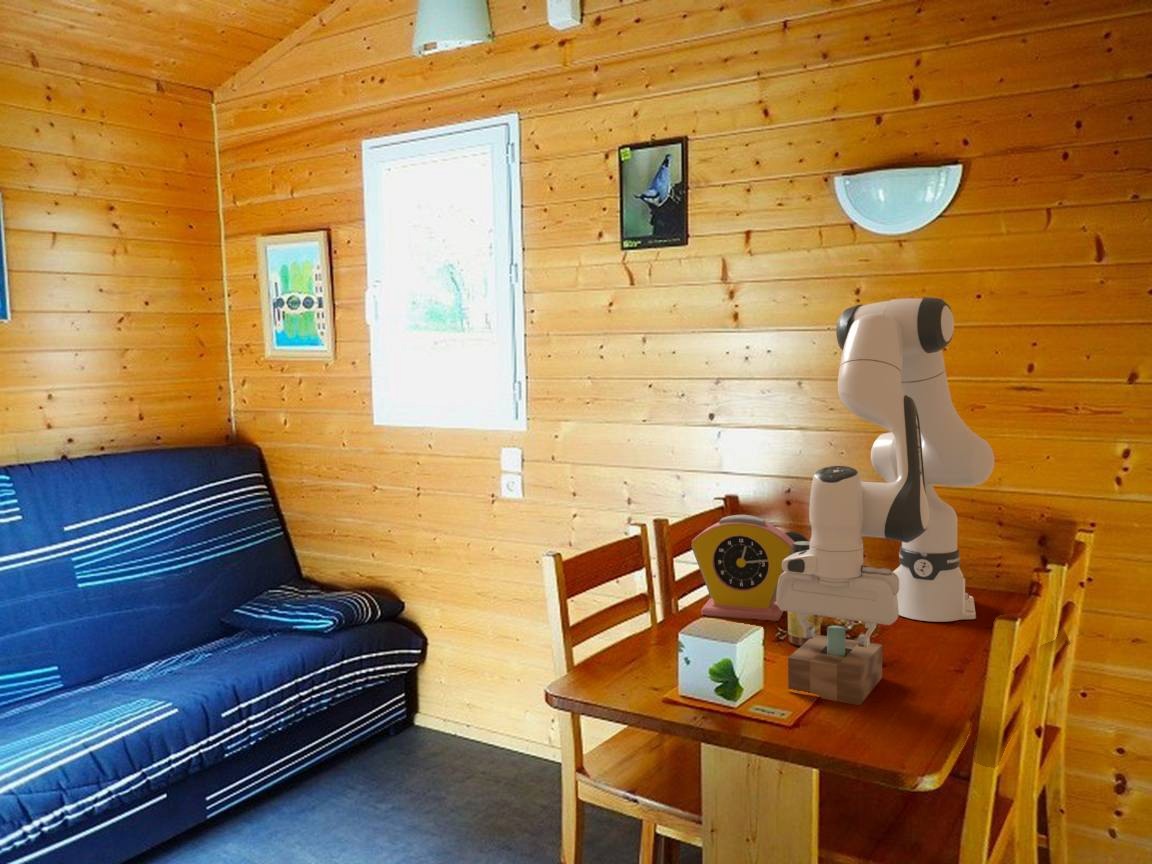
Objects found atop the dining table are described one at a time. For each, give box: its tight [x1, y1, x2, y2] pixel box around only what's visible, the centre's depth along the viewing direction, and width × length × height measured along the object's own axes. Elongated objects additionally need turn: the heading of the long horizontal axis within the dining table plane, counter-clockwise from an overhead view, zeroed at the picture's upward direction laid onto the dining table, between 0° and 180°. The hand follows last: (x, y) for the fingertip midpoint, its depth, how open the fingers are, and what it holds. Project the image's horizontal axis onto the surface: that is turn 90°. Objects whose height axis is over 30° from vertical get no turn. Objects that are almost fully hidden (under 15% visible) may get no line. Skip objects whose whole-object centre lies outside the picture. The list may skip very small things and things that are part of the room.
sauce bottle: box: [787, 540, 821, 647], centre depth 180 cm, size 6×6×20 cm
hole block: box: [787, 634, 883, 706], centre depth 159 cm, size 14×12×6 cm
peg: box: [826, 625, 846, 657], centre depth 158 cm, size 3×3×10 cm
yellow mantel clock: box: [690, 514, 794, 622], centre depth 201 cm, size 22×9×22 cm, turn 69°
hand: (836, 641), depth 158 cm, fingers open, 8 cm apart
